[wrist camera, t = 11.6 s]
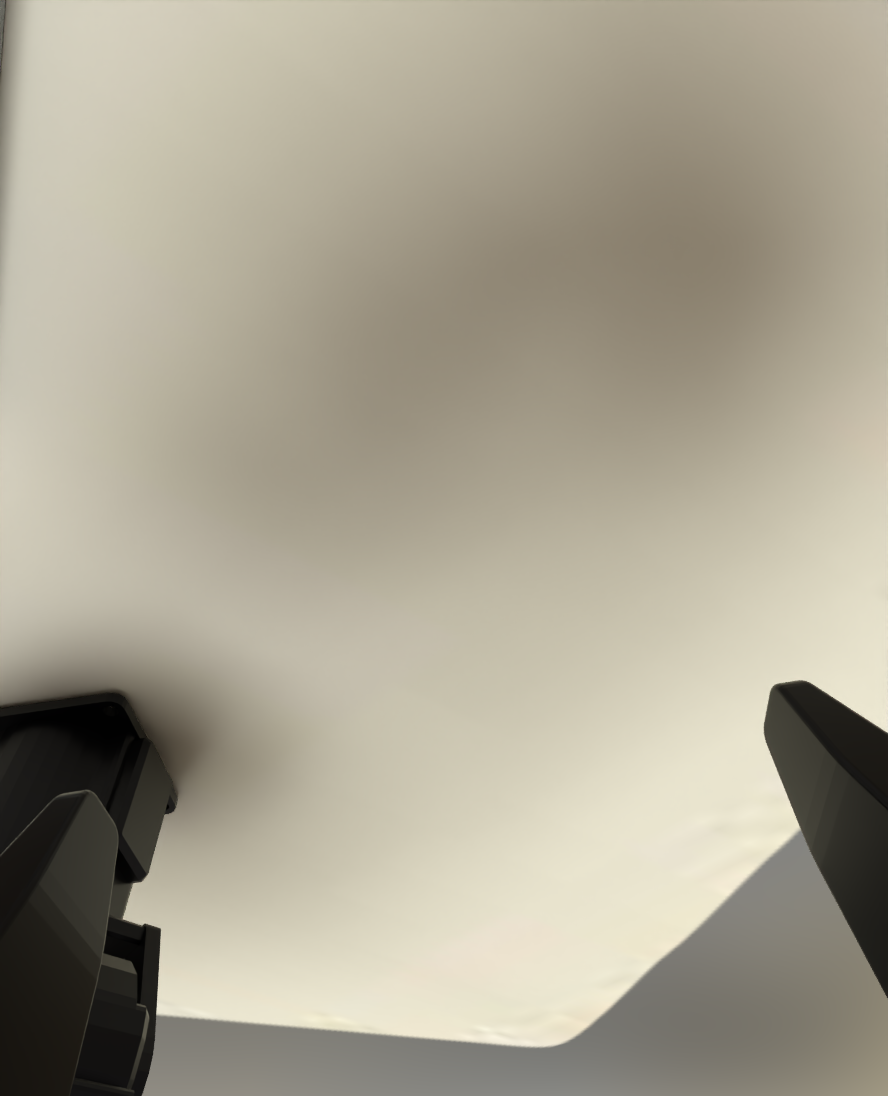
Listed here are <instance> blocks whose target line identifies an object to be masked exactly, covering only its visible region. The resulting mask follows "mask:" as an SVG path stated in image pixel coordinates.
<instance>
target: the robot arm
mask: <svg viewBox="0 0 888 1096" xmlns="http://www.w3.org/2000/svg"><path fill="white" fill-rule="evenodd" d="M109 706H112V707H115V708H112V707H109ZM764 735H765V740H766V743H767V746H768V748H769V751H770V753H771V756H772V758H773V761H774V763H775V766H776V768H777V771H778V773H779V776H780V778H781V781H782V783H783V786H784V788H785V791H786V793H787V796H788V798H789V801H790V803H791V806H792V808H793V811H794V813H795V816H796V818H797V821H798V823H799V826H800V828H801V831H802V833H803V836H804V838H805V840H806V843H807V845H808V847H809V850H810V852H811V854H812V856H813V858H814V860H815V862H816V864H817V866H818V868H819V870H820V872H821V874H822V876H823V878H824V879H825V881H826V883H827V885H828V887H829V889H830V891H831V893H832V895H833V896H834V898H835V900H836V902H837V904H838V906H839V908H840V910H841V911H842V913H843V915H844V917H845V919H846V921H847V923H848V925H849V927H850V928H851V930H852V932H853V934H854V936H855V938H856V940H857V942H858V943H859V945H860V947H861V949H862V951H863V953H864V955H865V957H866V959H867V961H868V962H869V964H870V966H871V968H872V970H873V972H874V974H875V976H876V977H877V979H878V981H879V983H880V985H881V987H882V989H883V991H884V992H885V994H886V996H887V998H888V733H887V732H885V731H884V730H882V729H881V728H879V727H878V726H876V725H875V724H873V723H871V722H870V721H868V720H867V719H865V718H864V717H862V716H861V715H859V714H858V713H856V712H855V711H853V710H851V709H850V708H848V707H847V706H845V705H844V704H842V703H841V702H839V701H838V700H836V699H835V698H833V697H831V696H830V695H828V694H827V693H825V692H824V691H822V690H821V689H819V688H818V687H816V686H815V685H813V684H811V683H809V682H807V681H803V680H799V681H792V682H785V683H779V684H776V685H774V686H773V687H772V689H771V691H770V695H769V701H768V706H767V711H766V716H765V722H764ZM172 784H173V782H172V780H171V778H170V776H169V774H168V772H167V770H166V768H165V766H164V764H163V762H162V760H161V758H160V756H159V754H158V752H157V750H156V749H155V747H154V745H153V743H152V742H151V741H150V740H149V739H148V738H147V737H146V735H145V733H144V731H143V729H142V727H141V725H140V723H139V721H138V720H137V718H136V716H135V714H134V712H133V710H132V708H131V706H130V704H129V702H128V701H127V699H126V698H125V697H123V696H122V695H120V694H116V693H107V694H100V695H93V696H86V697H79V698H72V699H65V700H58V701H51V702H44V703H37V704H30V705H23V706H16V707H9V708H2V709H0V1096H142V1093H143V1090H144V1087H145V1084H146V1081H147V1077H148V1074H149V1070H150V1065H151V1061H152V1056H153V1050H154V1041H155V1026H156V1008H157V990H158V972H159V954H160V936H161V929H160V928H158V927H155V926H151V925H148V924H144V925H143V926H141V925H138V924H135V923H132V922H129V921H126V920H122V919H123V916H124V912H125V909H126V905H127V902H128V898H129V895H130V891H131V888H132V885H133V883H137V882H142V881H143V880H144V879H145V877H146V876H147V875H148V873H149V869H150V865H151V862H152V858H153V854H154V851H155V847H156V843H157V840H158V836H159V832H160V829H161V825H162V821H163V818H164V814H169V813H172V812H173V811H174V810H175V808H176V805H177V801H178V797H177V795H176V793H175V791H174V789H173V787H172Z"/></svg>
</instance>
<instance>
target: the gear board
mask: <svg viewBox="0 0 888 1096" xmlns="http://www.w3.org/2000/svg"><path fill="white" fill-rule="evenodd" d="M4 13H5V0H0V70H1V56H2V41H3V27H4Z"/></svg>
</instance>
